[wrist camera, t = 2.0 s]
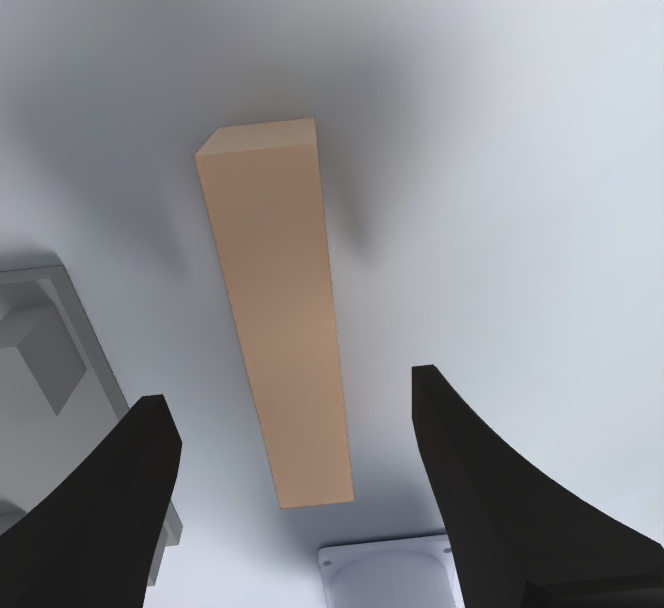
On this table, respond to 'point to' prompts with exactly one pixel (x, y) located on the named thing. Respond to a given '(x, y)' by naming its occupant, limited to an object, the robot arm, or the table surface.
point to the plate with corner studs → (53, 395)
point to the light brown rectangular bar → (282, 299)
